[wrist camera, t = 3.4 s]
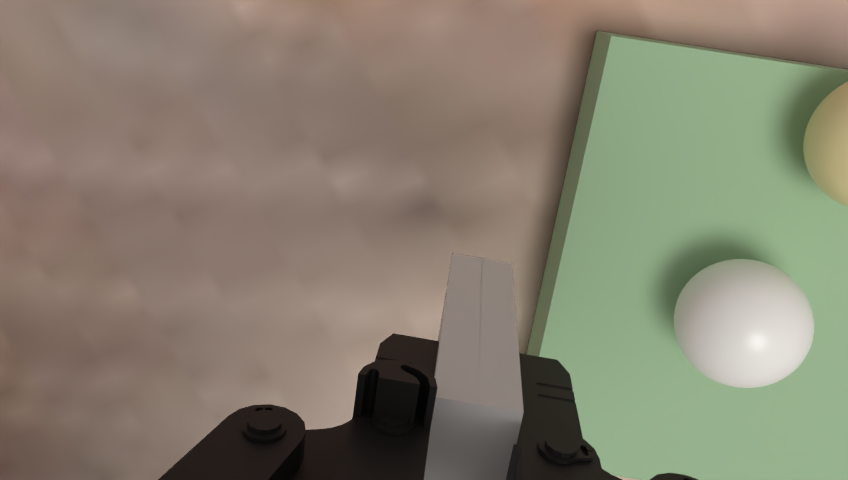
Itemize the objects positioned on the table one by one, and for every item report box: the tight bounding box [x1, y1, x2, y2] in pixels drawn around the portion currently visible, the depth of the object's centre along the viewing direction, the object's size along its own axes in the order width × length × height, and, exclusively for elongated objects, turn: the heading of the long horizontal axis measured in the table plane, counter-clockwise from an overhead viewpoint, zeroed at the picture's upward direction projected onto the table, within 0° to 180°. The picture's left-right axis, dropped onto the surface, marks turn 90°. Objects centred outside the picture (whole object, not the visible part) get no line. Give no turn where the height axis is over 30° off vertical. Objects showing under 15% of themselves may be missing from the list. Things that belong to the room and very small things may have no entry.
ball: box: [674, 259, 814, 388], centre depth 20 cm, size 4×4×4 cm
